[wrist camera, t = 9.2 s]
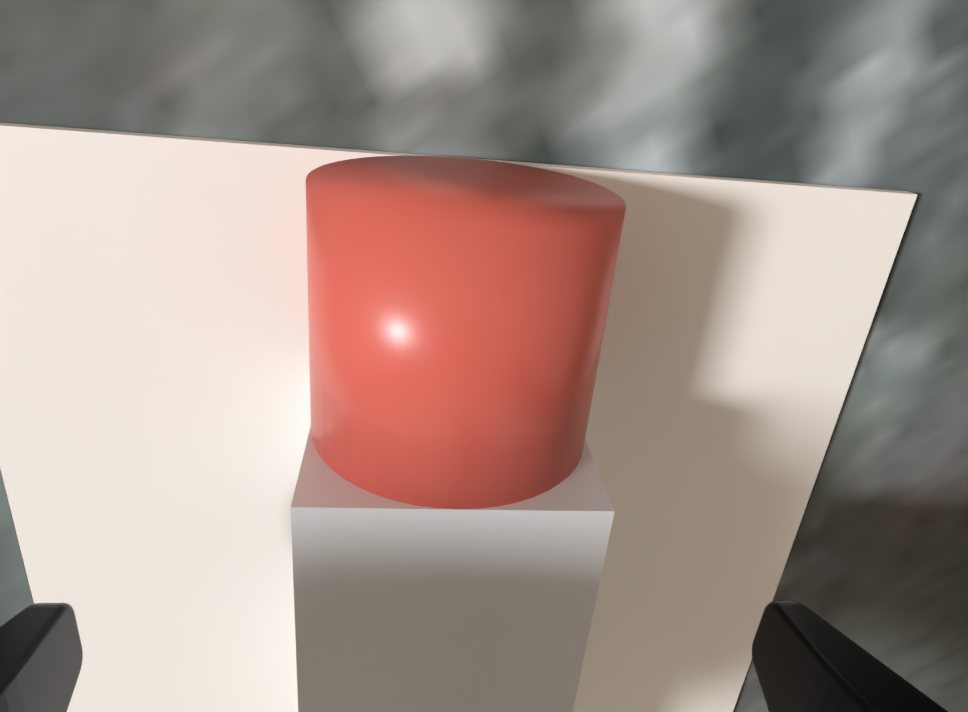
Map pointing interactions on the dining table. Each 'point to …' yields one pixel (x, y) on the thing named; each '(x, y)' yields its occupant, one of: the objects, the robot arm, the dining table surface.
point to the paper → (286, 414)
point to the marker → (450, 435)
